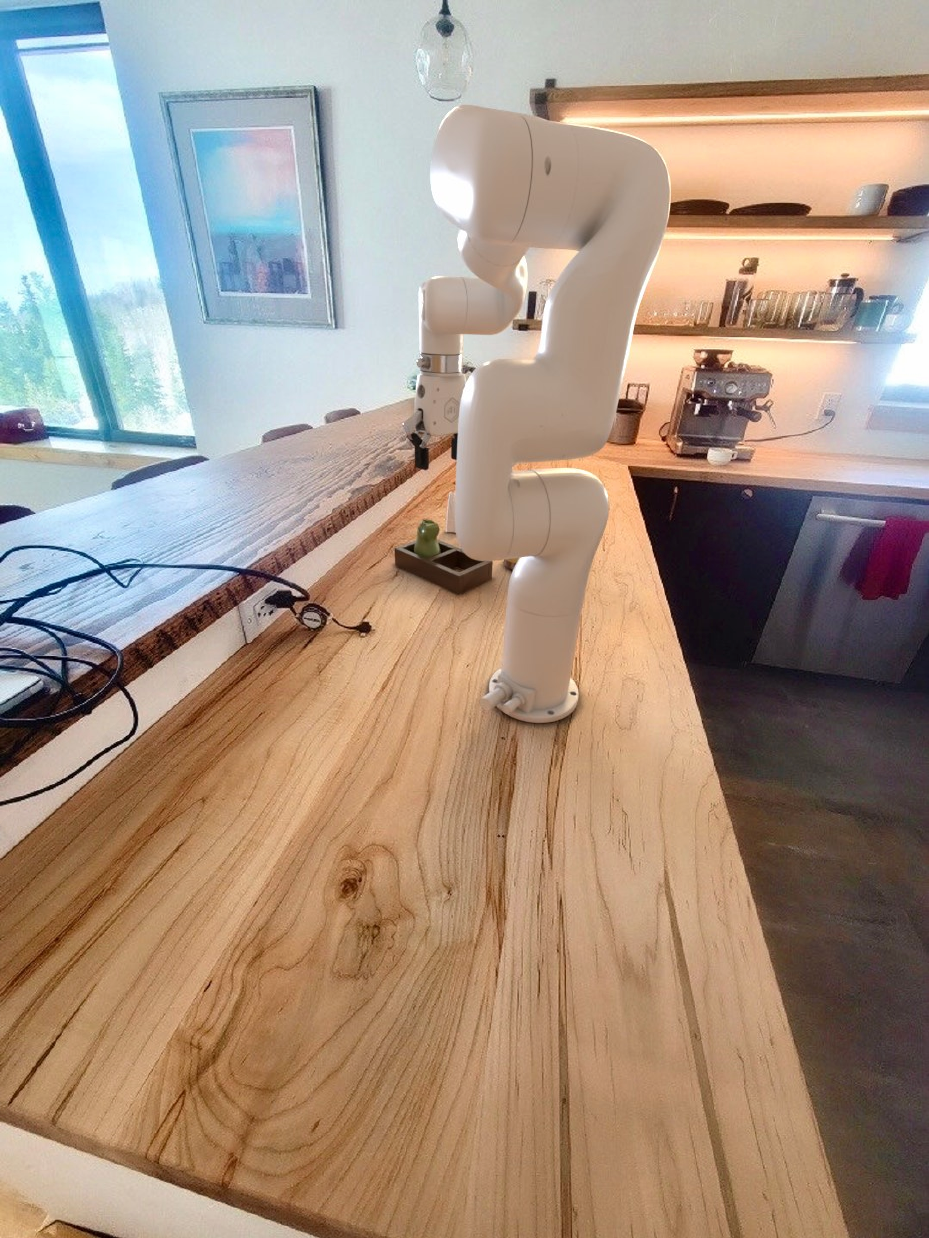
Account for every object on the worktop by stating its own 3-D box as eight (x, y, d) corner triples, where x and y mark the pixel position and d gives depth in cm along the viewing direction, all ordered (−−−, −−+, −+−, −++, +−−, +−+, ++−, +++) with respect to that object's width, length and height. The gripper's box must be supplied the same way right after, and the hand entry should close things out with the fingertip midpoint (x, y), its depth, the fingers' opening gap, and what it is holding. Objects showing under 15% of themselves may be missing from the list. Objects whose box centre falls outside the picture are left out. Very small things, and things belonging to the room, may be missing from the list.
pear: (427, 558, 110) (427, 514, 105) (445, 565, 108) (446, 520, 103) (409, 566, 107) (408, 521, 102) (428, 573, 104) (427, 527, 99)
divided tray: (458, 595, 96) (459, 576, 94) (395, 565, 107) (394, 547, 105) (491, 579, 103) (492, 561, 101) (428, 552, 113) (428, 535, 111)
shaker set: (495, 532, 125) (498, 488, 119) (492, 538, 122) (495, 493, 116) (449, 526, 127) (450, 483, 122) (444, 532, 124) (445, 488, 118)
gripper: (418, 369, 80) (420, 476, 89) (489, 365, 91) (484, 460, 100) (388, 365, 85) (393, 467, 94) (459, 361, 95) (457, 453, 104)
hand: (440, 464), depth 97 cm, fingers open, 9 cm apart
